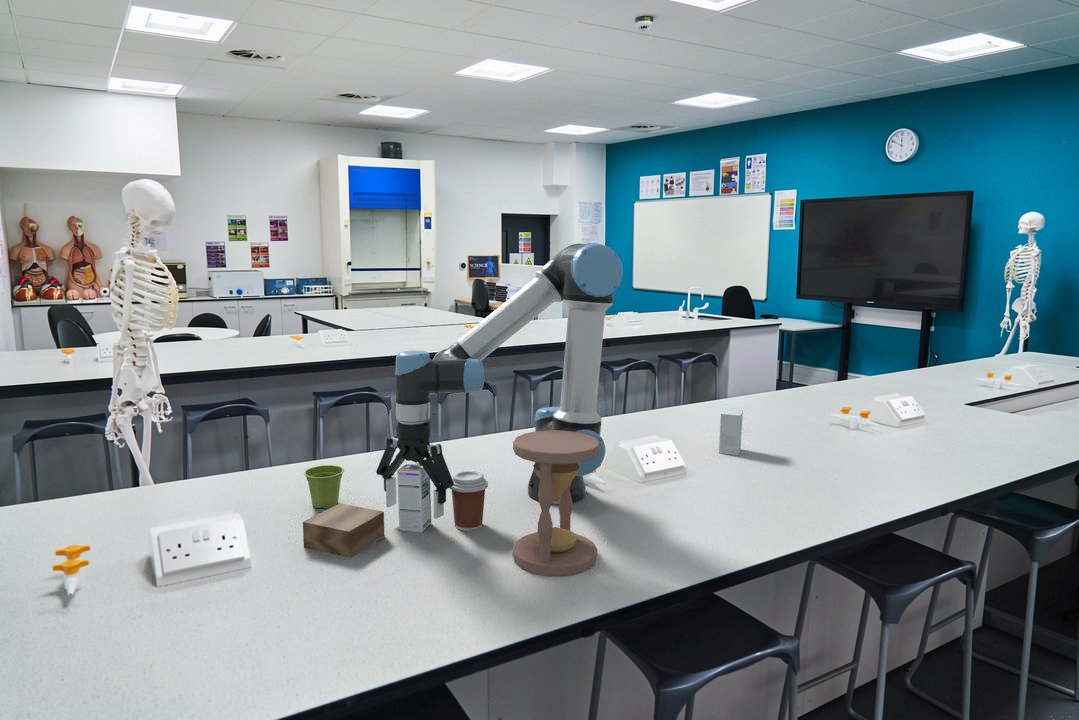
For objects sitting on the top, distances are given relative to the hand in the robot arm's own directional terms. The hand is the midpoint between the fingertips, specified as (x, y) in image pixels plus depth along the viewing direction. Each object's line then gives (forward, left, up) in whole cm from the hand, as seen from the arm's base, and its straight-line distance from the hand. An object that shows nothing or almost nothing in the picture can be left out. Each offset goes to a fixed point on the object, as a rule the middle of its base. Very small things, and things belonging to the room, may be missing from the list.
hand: (414, 511), depth 159 cm
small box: (-48, -99, -4) cm, 110 cm away
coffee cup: (-10, -7, -4) cm, 13 cm away
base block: (+8, +14, -4) cm, 17 cm away
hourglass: (-35, -2, -4) cm, 35 cm away
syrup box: (0, 0, -4) cm, 4 cm away
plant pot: (+28, 0, -4) cm, 28 cm away
